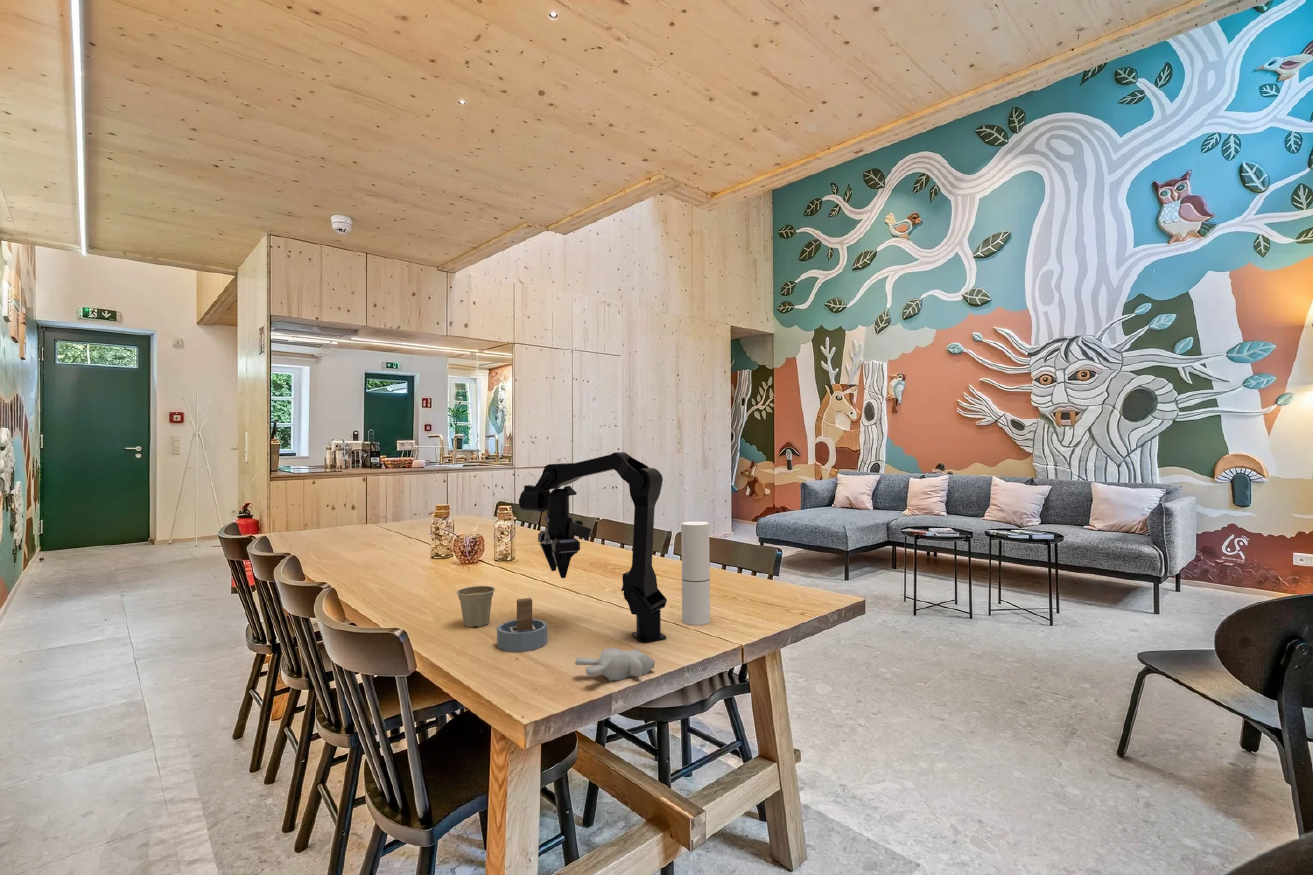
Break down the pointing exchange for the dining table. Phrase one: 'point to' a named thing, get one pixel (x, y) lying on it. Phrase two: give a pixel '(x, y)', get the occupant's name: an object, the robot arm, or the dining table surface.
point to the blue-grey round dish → (522, 637)
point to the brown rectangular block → (524, 614)
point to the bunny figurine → (618, 664)
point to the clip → (514, 629)
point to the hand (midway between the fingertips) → (558, 574)
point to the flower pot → (476, 605)
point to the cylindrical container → (695, 573)
